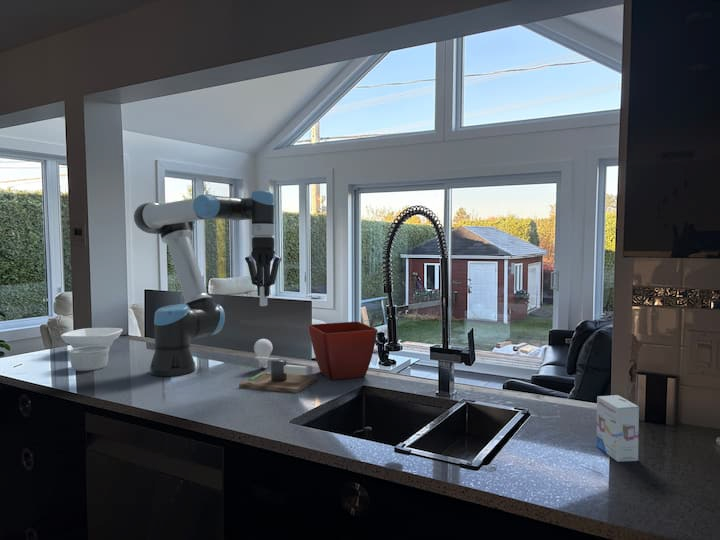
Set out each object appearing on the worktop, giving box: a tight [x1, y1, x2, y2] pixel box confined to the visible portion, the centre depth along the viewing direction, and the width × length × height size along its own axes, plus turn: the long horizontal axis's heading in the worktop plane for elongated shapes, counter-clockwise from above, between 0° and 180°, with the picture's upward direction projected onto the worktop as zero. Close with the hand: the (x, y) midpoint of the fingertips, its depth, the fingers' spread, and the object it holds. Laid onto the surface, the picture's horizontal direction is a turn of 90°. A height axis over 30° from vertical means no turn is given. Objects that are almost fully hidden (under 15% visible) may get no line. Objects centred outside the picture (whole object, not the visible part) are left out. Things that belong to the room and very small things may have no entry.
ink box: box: [596, 394, 640, 463], centre depth 111 cm, size 9×5×12 cm, turn 5°
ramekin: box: [68, 346, 110, 372], centre depth 188 cm, size 13×13×7 cm
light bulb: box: [253, 338, 273, 370], centre depth 186 cm, size 7×7×11 cm
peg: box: [254, 356, 309, 381], centre depth 166 cm, size 18×5×7 cm, turn 71°
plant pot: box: [308, 321, 378, 381], centre depth 178 cm, size 19×19×17 cm
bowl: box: [60, 327, 123, 349], centre depth 214 cm, size 21×21×9 cm
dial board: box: [238, 371, 318, 394], centre depth 167 cm, size 20×17×2 cm
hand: (263, 305), depth 175 cm, fingers closed
